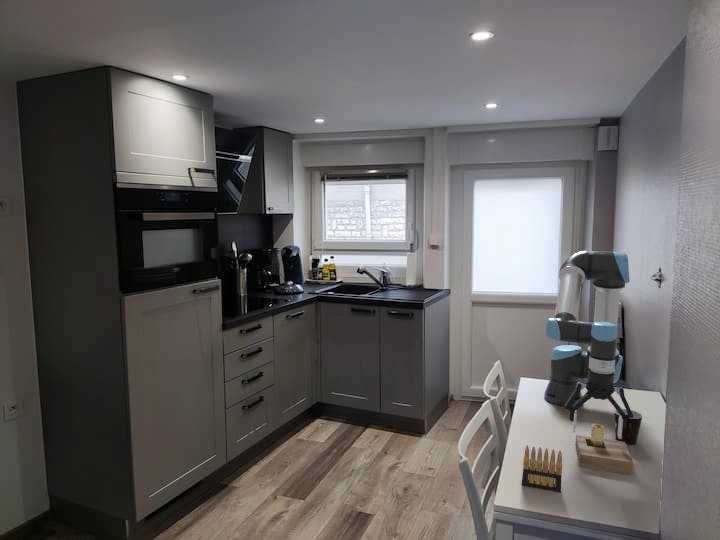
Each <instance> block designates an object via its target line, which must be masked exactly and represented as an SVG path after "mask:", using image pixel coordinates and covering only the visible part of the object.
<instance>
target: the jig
mask: <svg viewBox="0 0 720 540" xmlns="http://www.w3.org/2000/svg"><path fill="white" fill-rule="evenodd" d="M590 440H591V436H588V435H580V434H576V435H575V444H574V445H575V446H576V447H575V452H576V456H577V457H578V458H577V457H576V458H577V463H578V467H580V466H581V468H587V469H593V470H599V471H604V472H611V473H615V474H617V473H618V474H623V475H630V476H633V474H634V460H633V457H632V454H631V452H630V450H629V448H628V445H626V443H625V442H621V441H616V439H615V440H614V439H607V438H604V440H603V448H598V447H591V446H590Z"/></svg>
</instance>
